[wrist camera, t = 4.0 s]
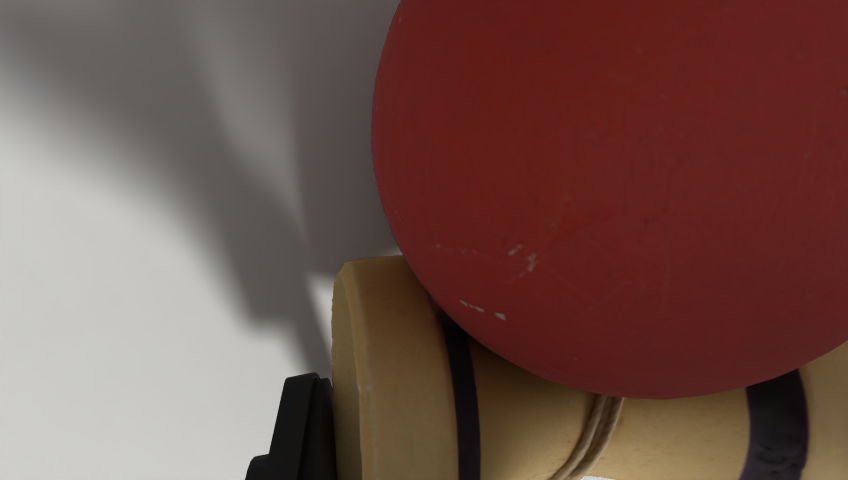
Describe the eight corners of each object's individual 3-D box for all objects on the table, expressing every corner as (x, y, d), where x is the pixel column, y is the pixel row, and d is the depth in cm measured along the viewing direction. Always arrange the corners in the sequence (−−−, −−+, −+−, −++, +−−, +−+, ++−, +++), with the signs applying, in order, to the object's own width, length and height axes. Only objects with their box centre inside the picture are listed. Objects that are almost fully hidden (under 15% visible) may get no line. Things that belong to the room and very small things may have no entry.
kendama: (595, 551, 17) (961, -136, 7) (638, 845, 12) (2353, -158, 2) (355, 514, 18) (369, -193, 7) (296, 785, 12) (53, -357, 2)
